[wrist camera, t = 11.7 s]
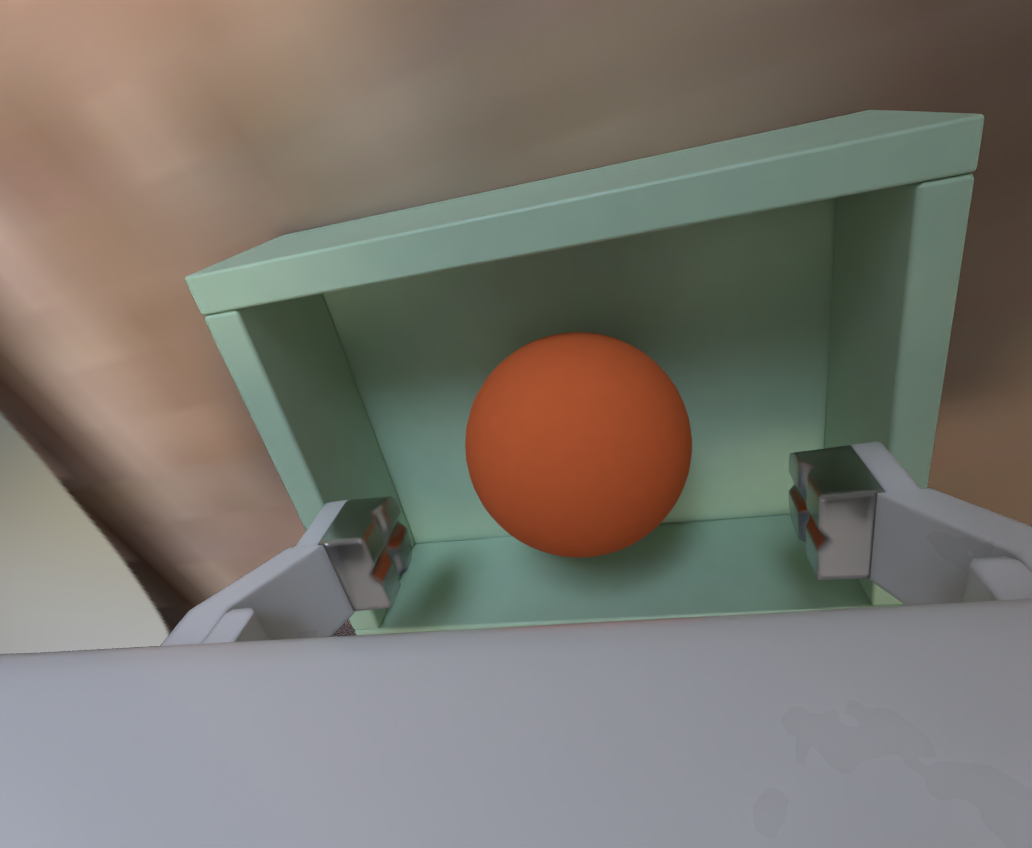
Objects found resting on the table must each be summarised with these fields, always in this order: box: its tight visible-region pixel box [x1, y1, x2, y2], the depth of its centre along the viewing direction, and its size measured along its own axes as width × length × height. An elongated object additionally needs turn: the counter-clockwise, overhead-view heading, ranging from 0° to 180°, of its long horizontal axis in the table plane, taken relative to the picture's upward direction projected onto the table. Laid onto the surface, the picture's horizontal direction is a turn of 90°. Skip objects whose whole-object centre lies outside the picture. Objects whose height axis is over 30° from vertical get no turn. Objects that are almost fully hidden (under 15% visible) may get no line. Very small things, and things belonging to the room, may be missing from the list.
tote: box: [185, 110, 984, 635], centre depth 14 cm, size 11×14×4 cm
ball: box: [465, 332, 692, 558], centre depth 13 cm, size 5×5×5 cm
